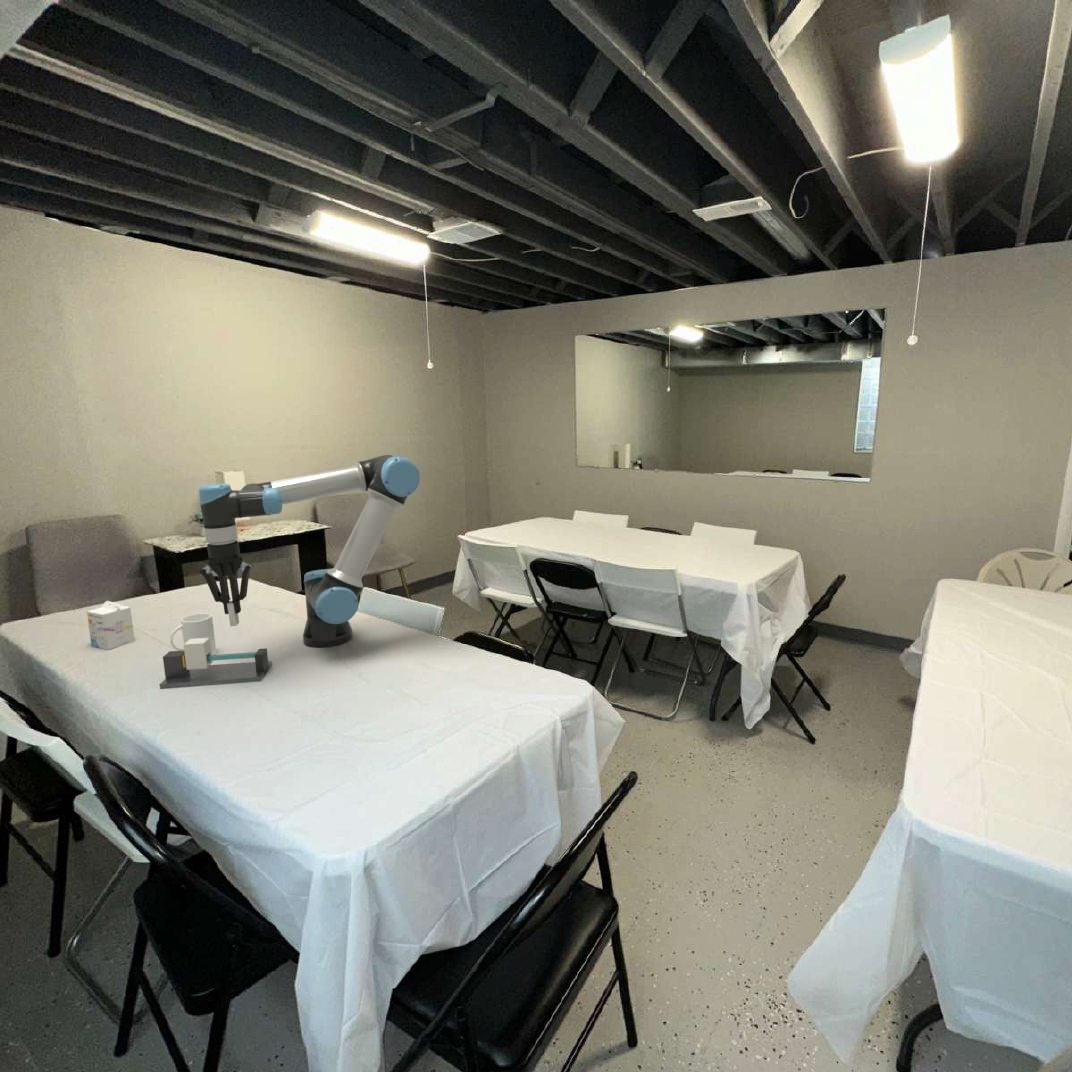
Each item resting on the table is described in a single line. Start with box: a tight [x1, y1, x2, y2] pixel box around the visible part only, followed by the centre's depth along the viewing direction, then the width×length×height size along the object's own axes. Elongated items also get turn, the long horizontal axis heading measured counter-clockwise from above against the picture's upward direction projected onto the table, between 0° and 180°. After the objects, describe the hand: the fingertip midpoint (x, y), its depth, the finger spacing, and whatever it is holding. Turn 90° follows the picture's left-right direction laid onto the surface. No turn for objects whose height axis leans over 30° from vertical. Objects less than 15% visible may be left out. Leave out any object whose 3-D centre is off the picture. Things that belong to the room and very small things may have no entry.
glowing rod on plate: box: [159, 647, 273, 689], centre depth 157 cm, size 25×11×7 cm, turn 100°
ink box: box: [86, 600, 136, 651], centre depth 180 cm, size 9×8×13 cm
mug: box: [169, 612, 218, 655], centre depth 170 cm, size 12×8×12 cm
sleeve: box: [183, 638, 213, 670], centre depth 155 cm, size 5×4×7 cm
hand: (234, 624), depth 158 cm, fingers closed
